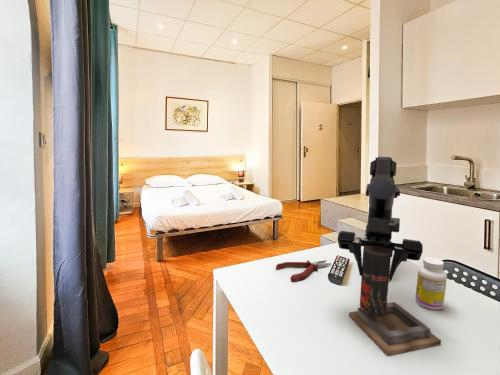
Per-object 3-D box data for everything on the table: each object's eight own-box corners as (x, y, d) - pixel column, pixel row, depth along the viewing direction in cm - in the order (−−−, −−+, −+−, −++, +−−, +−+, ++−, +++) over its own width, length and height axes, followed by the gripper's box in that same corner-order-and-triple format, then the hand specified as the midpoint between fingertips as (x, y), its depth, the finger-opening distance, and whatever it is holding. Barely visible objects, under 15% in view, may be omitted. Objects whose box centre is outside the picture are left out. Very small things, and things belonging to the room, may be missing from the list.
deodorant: (389, 316, 64) (394, 256, 61) (362, 314, 65) (366, 254, 62) (381, 302, 70) (386, 246, 67) (357, 300, 70) (360, 245, 68)
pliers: (339, 271, 97) (340, 264, 97) (292, 284, 89) (292, 276, 88) (318, 259, 107) (318, 253, 107) (274, 270, 99) (274, 263, 98)
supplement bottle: (418, 294, 81) (423, 253, 79) (445, 303, 77) (450, 260, 75) (412, 303, 77) (416, 260, 75) (440, 314, 72) (445, 268, 70)
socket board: (394, 308, 75) (395, 298, 74) (440, 344, 61) (441, 332, 61) (348, 315, 72) (349, 305, 71) (386, 355, 58) (388, 343, 58)
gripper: (340, 200, 70) (331, 257, 62) (425, 207, 62) (427, 274, 54) (343, 222, 79) (335, 274, 71) (418, 230, 71) (419, 291, 63)
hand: (375, 278), depth 64 cm, fingers closed on deodorant, 6 cm apart
